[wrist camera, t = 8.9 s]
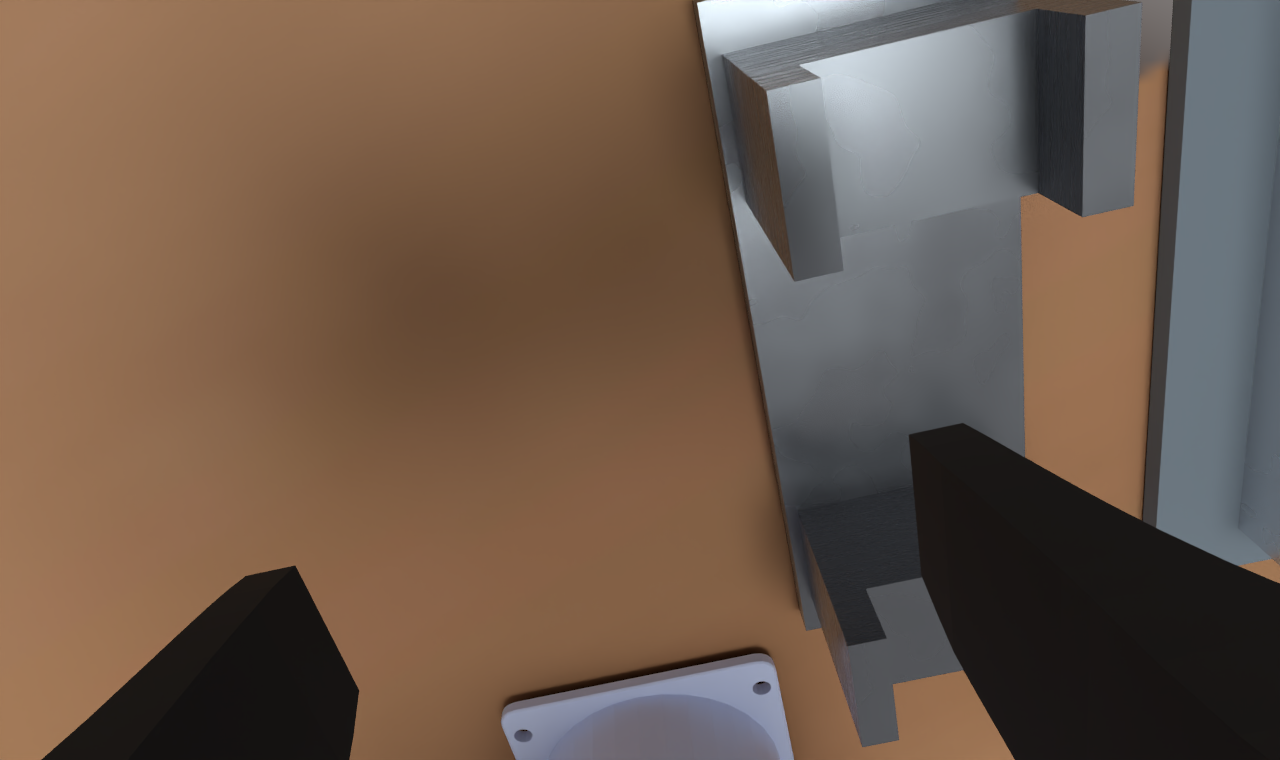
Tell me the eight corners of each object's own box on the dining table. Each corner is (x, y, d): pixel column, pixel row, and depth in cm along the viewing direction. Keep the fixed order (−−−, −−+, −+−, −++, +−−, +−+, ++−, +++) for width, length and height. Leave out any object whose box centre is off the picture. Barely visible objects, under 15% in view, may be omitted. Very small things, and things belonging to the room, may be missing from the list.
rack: (1013, 566, 24) (1124, 727, 19) (799, 610, 24) (853, 780, 19) (997, -74, 17) (1168, -82, 12) (692, 0, 17) (734, 22, 12)
